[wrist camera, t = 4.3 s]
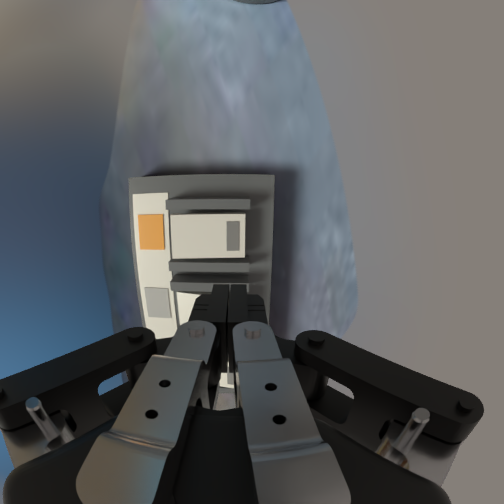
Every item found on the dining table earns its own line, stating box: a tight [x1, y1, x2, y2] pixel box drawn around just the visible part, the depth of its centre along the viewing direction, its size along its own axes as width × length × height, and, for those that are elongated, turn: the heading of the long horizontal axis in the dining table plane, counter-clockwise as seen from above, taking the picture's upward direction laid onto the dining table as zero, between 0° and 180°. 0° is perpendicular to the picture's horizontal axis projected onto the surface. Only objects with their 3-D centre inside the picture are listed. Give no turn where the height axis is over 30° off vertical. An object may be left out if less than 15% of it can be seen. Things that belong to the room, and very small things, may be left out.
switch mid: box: [177, 291, 211, 325], centre depth 24 cm, size 4×6×1 cm, turn 89°
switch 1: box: [170, 212, 245, 259], centre depth 22 cm, size 4×6×1 cm, turn 89°
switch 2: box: [219, 358, 234, 388], centre depth 26 cm, size 4×6×1 cm, turn 89°
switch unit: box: [129, 174, 275, 393], centre depth 26 cm, size 24×13×5 cm, turn 179°
